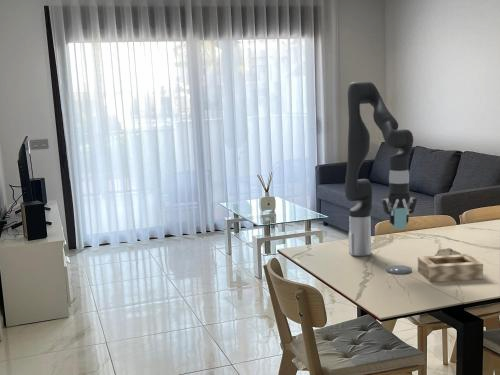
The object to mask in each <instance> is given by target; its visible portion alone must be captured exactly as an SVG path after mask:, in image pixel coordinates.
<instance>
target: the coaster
mask: <svg viewBox="0 0 500 375" xmlns="http://www.w3.org/2000/svg"><path fill="white" fill-rule="evenodd" d="M412 269H413V268H412V267H410V266H408V265H404V264H403V265H402V264H392V265H388V266H386V267H385V271H386V272H387V273H389V274H392V275H407V274H410V273H412V271H413V270H412Z"/></svg>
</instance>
